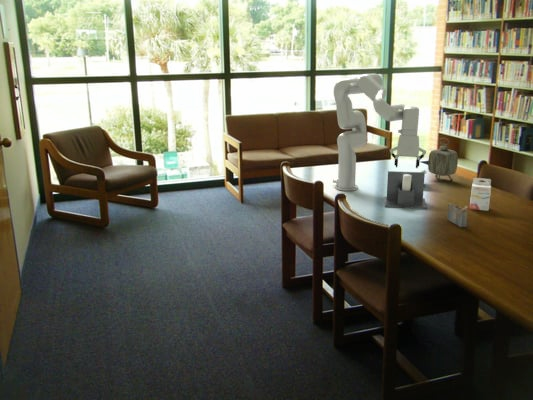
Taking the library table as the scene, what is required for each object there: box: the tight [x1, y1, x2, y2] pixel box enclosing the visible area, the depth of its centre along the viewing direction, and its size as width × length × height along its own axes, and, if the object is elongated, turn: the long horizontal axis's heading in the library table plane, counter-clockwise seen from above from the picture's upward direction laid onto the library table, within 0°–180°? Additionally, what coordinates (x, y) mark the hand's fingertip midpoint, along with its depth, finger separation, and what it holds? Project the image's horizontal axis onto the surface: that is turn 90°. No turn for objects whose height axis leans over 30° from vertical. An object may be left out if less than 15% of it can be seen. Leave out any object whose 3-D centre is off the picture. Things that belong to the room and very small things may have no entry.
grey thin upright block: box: [446, 203, 470, 228], centre depth 239 cm, size 11×3×10 cm, turn 13°
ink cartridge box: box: [469, 177, 492, 212], centre depth 258 cm, size 9×5×15 cm, turn 71°
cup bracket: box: [383, 170, 428, 210], centre depth 268 cm, size 15×20×15 cm
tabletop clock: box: [427, 137, 459, 182], centre depth 310 cm, size 14×9×25 cm, turn 34°
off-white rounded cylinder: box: [402, 174, 412, 191], centre depth 266 cm, size 4×4×12 cm
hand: (406, 167), depth 263 cm, fingers open, 9 cm apart
